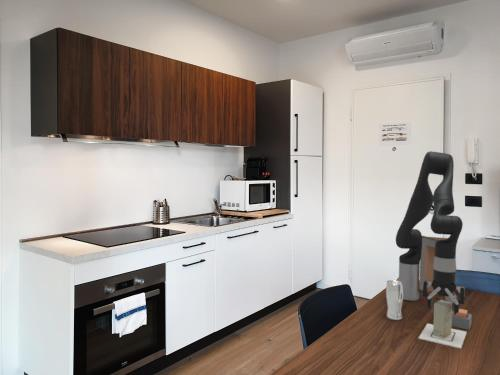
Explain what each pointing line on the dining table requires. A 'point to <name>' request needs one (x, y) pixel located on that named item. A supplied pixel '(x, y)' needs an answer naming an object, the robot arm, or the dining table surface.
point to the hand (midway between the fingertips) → (442, 310)
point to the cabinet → (429, 265)
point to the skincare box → (442, 318)
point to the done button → (461, 313)
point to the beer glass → (394, 299)
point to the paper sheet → (452, 340)
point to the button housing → (461, 321)
